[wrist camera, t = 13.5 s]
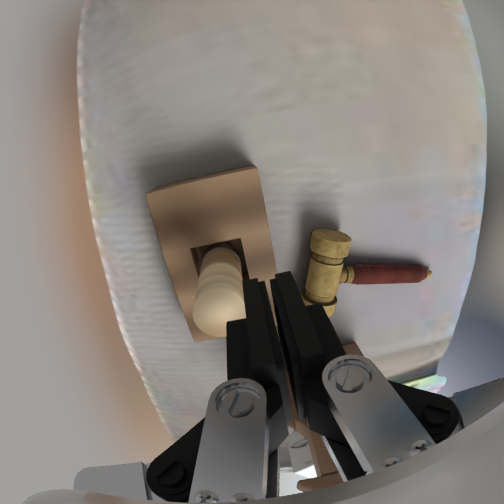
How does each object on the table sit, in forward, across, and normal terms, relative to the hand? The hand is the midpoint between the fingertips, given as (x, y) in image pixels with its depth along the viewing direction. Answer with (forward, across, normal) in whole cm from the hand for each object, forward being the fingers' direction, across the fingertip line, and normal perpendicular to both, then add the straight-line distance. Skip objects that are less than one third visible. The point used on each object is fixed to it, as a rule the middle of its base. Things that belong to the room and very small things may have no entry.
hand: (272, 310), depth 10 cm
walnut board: (+22, +4, +7) cm, 23 cm away
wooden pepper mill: (+21, +4, +7) cm, 22 cm away
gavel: (+22, -16, +14) cm, 31 cm away
